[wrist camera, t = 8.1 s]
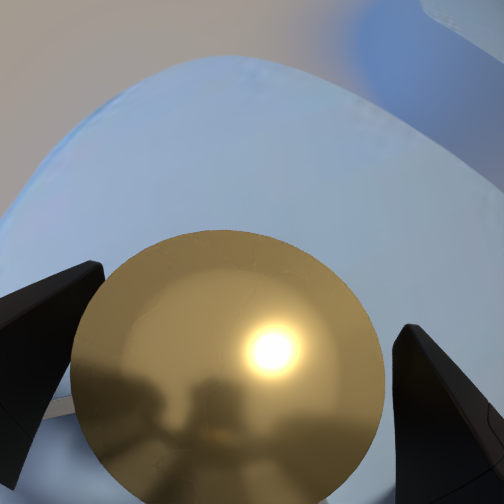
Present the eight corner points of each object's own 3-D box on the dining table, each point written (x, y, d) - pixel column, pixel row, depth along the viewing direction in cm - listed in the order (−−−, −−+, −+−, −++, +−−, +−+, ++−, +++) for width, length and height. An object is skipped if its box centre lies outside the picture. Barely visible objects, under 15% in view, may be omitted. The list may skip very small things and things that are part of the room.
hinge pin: (242, 401, 15) (217, 561, 3) (187, 341, 16) (27, 361, 4) (303, 346, 16) (438, 387, 3) (247, 287, 16) (231, 169, 4)
